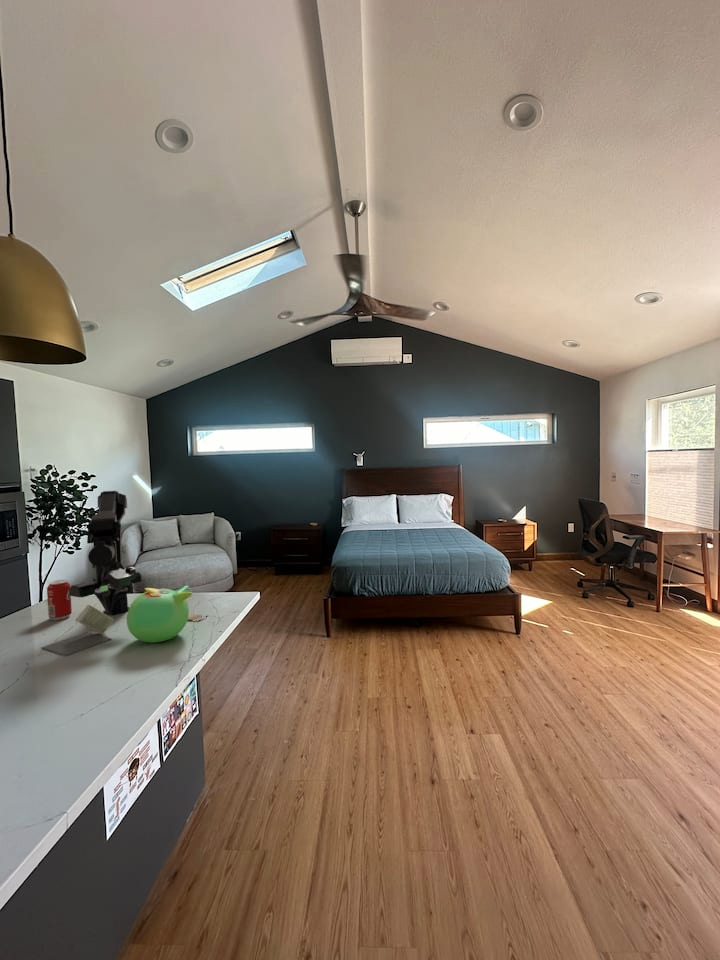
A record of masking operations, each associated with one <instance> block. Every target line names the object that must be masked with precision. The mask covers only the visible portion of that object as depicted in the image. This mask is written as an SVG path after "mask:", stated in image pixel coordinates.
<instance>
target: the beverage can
mask: <svg viewBox="0 0 720 960" xmlns="http://www.w3.org/2000/svg"><path fill="white" fill-rule="evenodd" d="M48 583H49V584H48V586H47V587H46V593H47V594H46V595H47V612H48V618H49V619H51V621H60V619H61V620H65V619H68V618H69V617H70V616H71V615H72V613H73V612H72V596H69V589H70V587H71V584H70V583H69V582H68V580H67V579H57V580H53V581H50V582H48ZM67 617H68V618H67Z"/></svg>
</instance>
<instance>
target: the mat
mask: <svg viewBox="0 0 720 960" xmlns="http://www.w3.org/2000/svg"><path fill="white" fill-rule="evenodd" d="M111 640H112V638H111V637H107V636H104V635H101V634H100V635H99V634H95V633H92V632H88V631H86V632H83V633H80V634H77V635H74V636H72V637H68V638H65V639H62V640H59V641H57V642H56V641H55V642H53V643H50V644H48V645H44V646H41V649H42V650H46V651H47V652H48V651H49V652H51V653H54V652H55V654H58V655H61V656H65V657H67V656H70V655H74V654H76V653H79V652H81V651H85V650H86V649H90V648H93V647H95V646H98V645H100V644H103V643H106V642H109V641H111Z"/></svg>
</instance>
